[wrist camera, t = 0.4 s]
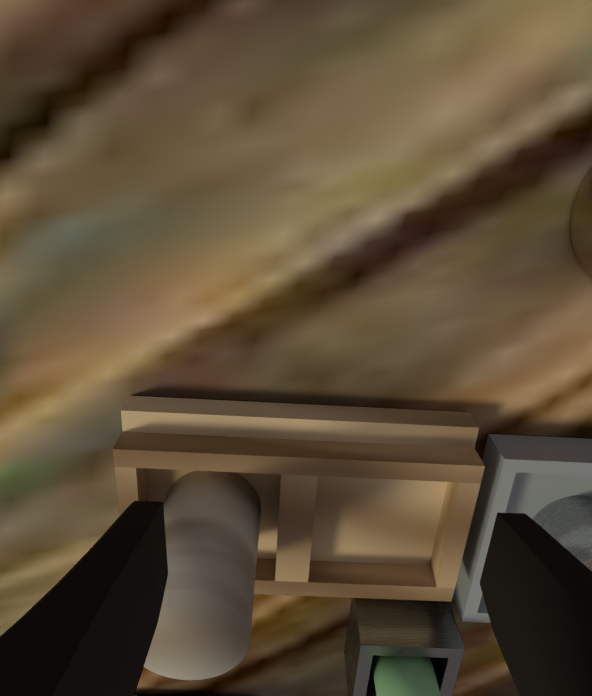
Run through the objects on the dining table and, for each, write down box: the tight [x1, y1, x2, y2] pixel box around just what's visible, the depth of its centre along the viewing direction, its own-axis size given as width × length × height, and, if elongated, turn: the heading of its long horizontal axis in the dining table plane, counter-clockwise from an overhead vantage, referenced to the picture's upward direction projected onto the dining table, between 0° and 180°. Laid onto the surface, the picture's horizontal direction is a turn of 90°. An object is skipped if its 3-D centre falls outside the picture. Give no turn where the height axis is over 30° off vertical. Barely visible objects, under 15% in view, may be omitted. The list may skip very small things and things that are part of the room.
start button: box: [372, 655, 441, 696], centre depth 23 cm, size 3×3×4 cm
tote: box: [453, 434, 592, 623], centre depth 22 cm, size 9×9×2 cm
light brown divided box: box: [113, 396, 485, 680], centre depth 19 cm, size 9×14×7 cm, turn 87°
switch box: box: [344, 598, 465, 696], centre depth 24 cm, size 5×5×3 cm
